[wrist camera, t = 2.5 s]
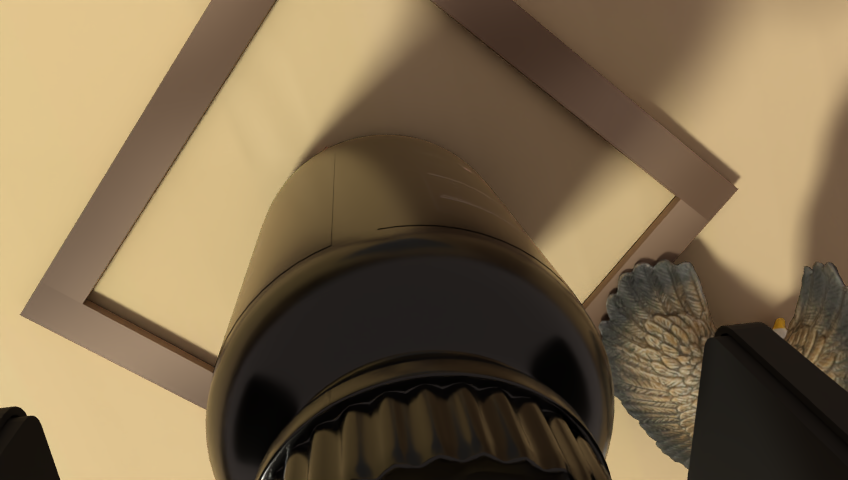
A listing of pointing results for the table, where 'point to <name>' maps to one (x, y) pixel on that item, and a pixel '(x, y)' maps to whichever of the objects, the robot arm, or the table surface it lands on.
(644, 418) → the eagle figurine
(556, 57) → the frame
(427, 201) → the supplement bottle
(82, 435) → the table surface
